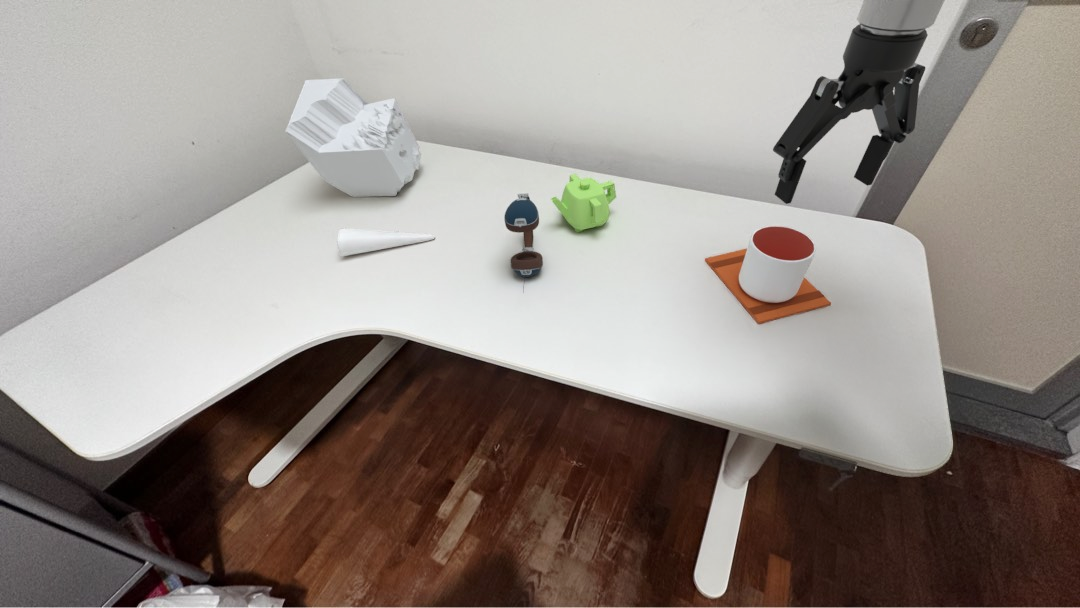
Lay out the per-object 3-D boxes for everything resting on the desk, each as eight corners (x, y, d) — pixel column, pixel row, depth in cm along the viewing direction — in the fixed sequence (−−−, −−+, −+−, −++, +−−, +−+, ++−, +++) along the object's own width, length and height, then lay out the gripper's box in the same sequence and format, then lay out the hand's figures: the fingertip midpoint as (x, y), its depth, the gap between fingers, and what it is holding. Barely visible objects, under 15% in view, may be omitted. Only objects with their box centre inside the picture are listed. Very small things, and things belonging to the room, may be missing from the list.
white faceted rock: (427, 155, 124) (390, 75, 101) (417, 203, 117) (375, 128, 95) (356, 157, 126) (305, 79, 104) (342, 204, 120) (285, 131, 97)
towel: (830, 305, 80) (831, 302, 79) (758, 324, 78) (759, 321, 77) (767, 245, 92) (768, 242, 92) (704, 260, 90) (705, 257, 90)
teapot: (571, 202, 108) (570, 164, 101) (617, 211, 104) (619, 172, 97) (550, 230, 101) (548, 191, 94) (600, 241, 97) (601, 201, 90)
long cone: (433, 261, 98) (341, 261, 97) (437, 246, 103) (349, 245, 102) (430, 238, 95) (334, 238, 94) (434, 223, 100) (343, 223, 98)
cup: (747, 262, 88) (761, 219, 81) (802, 280, 84) (822, 236, 77) (729, 293, 83) (742, 249, 76) (787, 314, 78) (807, 269, 71)
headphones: (542, 305, 83) (544, 241, 100) (536, 233, 73) (539, 176, 90) (508, 307, 83) (516, 243, 100) (497, 235, 74) (508, 177, 91)
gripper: (951, 5, 57) (875, 162, 72) (775, 34, 53) (733, 193, 68) (1010, 18, 52) (915, 185, 67) (820, 51, 48) (763, 220, 63)
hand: (823, 189), depth 68 cm, fingers open, 13 cm apart
